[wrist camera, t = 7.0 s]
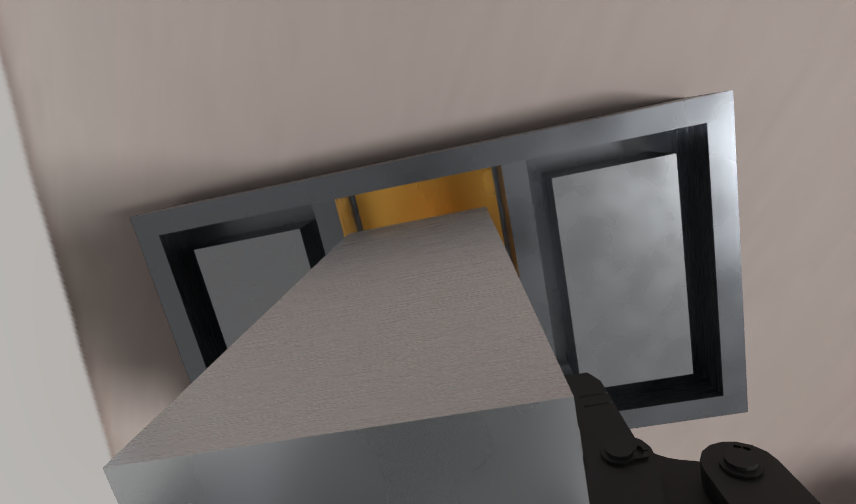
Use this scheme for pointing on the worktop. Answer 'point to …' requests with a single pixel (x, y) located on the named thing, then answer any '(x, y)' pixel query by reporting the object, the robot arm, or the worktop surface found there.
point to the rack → (514, 247)
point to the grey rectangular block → (376, 388)
